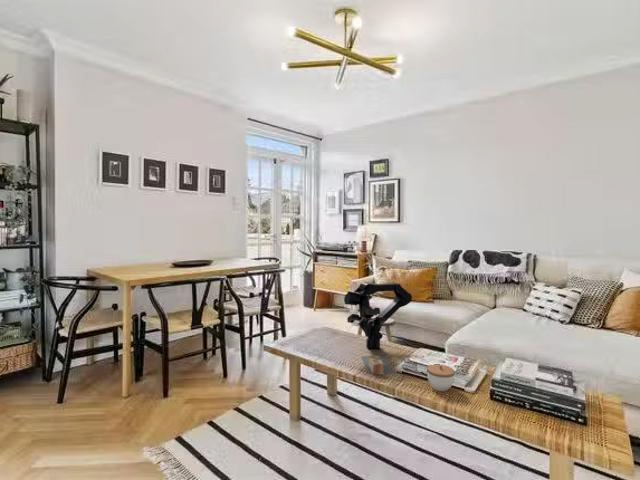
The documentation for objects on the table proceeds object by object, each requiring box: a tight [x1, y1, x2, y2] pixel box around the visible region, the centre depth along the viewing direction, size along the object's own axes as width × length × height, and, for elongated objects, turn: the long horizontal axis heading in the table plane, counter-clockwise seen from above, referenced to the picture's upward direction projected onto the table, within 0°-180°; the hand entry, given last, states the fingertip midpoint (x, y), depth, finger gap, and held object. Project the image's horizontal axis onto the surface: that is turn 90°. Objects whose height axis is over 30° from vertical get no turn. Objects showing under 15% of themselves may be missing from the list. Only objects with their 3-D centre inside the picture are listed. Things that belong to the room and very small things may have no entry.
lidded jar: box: [426, 364, 456, 392], centre depth 150 cm, size 11×11×9 cm
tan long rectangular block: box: [368, 355, 384, 376], centre depth 166 cm, size 4×4×10 cm
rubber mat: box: [360, 355, 396, 375], centre depth 173 cm, size 12×20×1 cm, turn 4°
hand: (368, 336), depth 181 cm, fingers closed
